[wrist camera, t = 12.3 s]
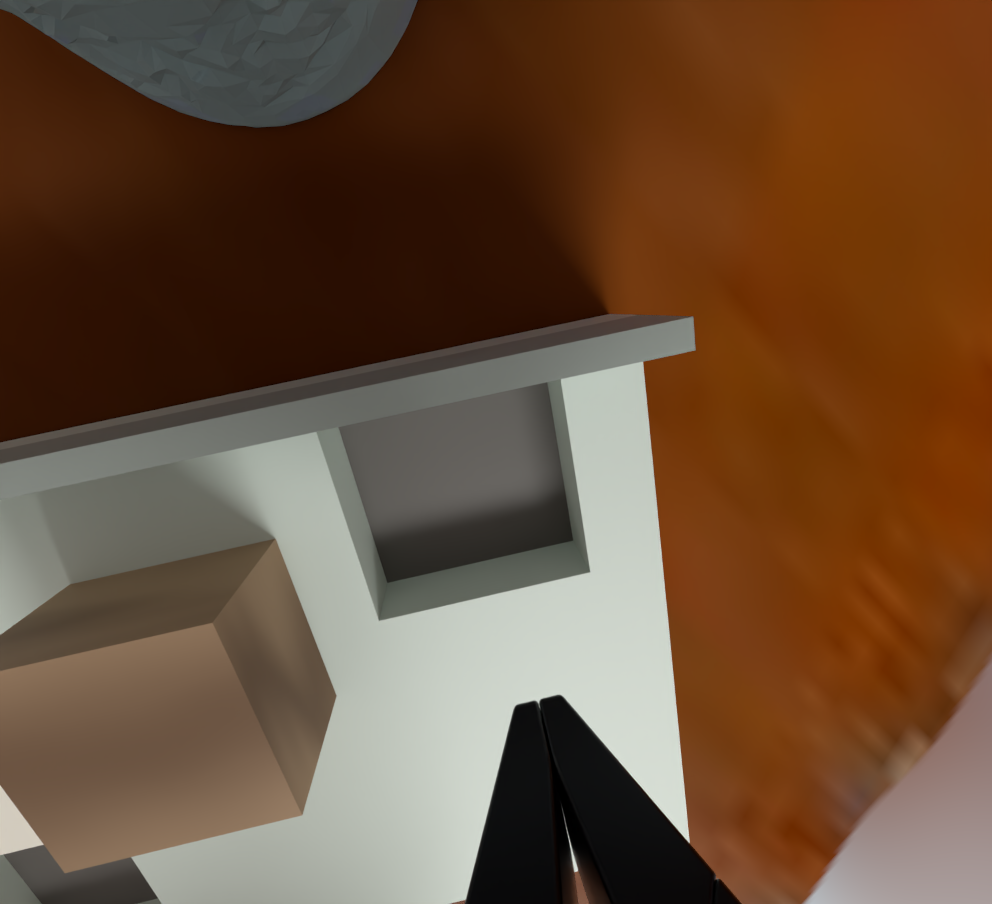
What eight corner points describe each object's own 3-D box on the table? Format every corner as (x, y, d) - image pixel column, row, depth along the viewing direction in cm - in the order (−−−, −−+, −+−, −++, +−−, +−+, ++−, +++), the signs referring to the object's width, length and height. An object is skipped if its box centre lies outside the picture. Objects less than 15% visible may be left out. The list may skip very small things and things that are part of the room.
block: (336, 695, 13) (302, 815, 10) (156, 738, 13) (64, 873, 10) (275, 538, 11) (212, 622, 8) (69, 584, 11) (-72, 687, 8)
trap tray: (664, 786, 18) (731, 934, 14) (-13, 954, 17) (-166, 1169, 13) (609, 313, 13) (693, 316, 8) (-394, 525, 12) (-885, 652, 7)
